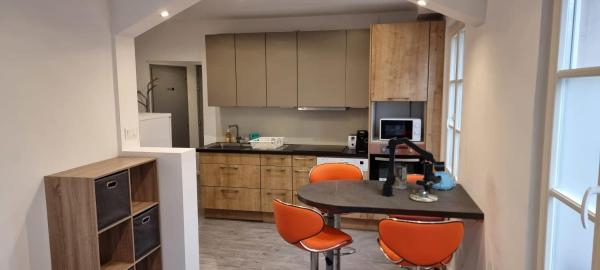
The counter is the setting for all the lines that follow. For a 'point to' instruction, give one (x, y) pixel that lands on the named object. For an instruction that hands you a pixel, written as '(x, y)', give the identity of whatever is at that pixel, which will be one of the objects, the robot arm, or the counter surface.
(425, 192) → the cover
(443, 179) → the decorative pot
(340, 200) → the counter surface
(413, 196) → the turntable
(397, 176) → the coffee box
